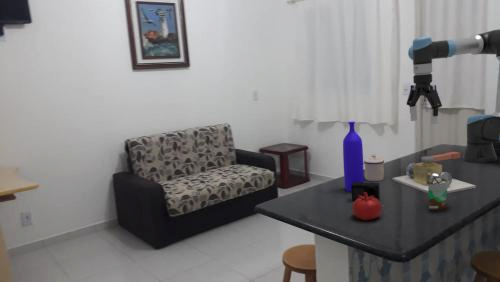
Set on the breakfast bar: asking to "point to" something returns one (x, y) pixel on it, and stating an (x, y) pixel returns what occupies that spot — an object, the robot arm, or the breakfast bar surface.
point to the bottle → (352, 158)
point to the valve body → (426, 172)
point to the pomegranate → (366, 207)
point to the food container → (438, 193)
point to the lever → (440, 157)
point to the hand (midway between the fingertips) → (423, 122)
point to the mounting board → (409, 181)
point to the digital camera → (365, 190)
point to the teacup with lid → (374, 168)
